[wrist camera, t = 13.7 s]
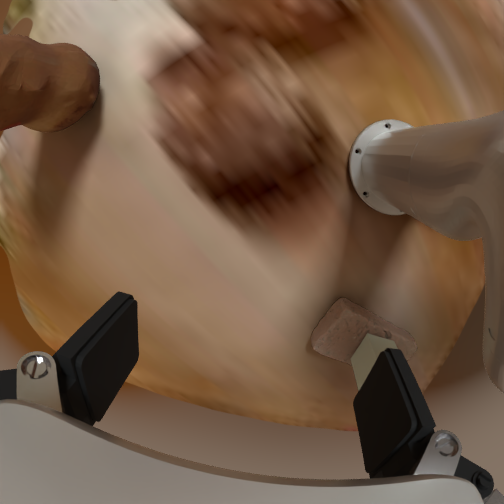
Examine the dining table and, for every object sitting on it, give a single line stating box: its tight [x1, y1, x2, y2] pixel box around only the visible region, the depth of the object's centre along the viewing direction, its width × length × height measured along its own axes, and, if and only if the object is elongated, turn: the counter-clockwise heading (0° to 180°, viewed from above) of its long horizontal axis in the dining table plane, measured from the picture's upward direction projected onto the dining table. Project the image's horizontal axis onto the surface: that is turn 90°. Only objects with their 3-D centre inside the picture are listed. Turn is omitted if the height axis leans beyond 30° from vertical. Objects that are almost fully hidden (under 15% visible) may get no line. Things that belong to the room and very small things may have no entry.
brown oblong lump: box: [0, 34, 100, 132], centre depth 22 cm, size 14×13×25 cm
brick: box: [311, 298, 418, 366], centre depth 40 cm, size 16×8×5 cm, turn 62°
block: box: [351, 333, 398, 391], centre depth 35 cm, size 5×5×7 cm
